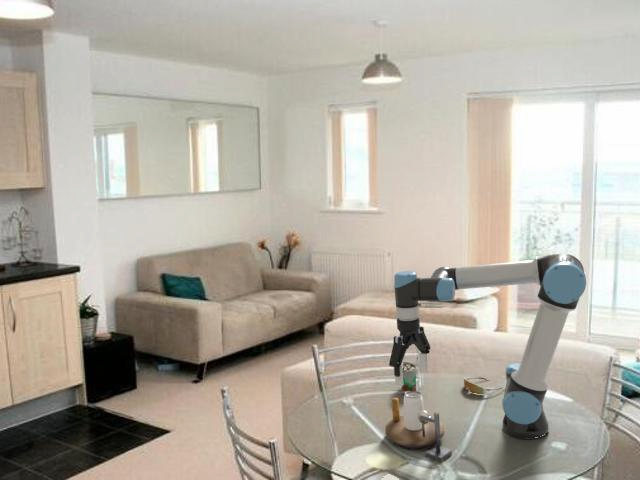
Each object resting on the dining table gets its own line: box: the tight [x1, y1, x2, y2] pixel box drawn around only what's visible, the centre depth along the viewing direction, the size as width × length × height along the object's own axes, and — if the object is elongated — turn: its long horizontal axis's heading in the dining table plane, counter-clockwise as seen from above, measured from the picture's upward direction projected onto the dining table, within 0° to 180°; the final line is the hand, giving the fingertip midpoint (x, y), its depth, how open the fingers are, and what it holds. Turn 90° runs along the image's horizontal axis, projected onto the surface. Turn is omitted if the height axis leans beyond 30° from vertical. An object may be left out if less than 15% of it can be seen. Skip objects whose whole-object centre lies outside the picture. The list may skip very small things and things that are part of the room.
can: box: [403, 390, 424, 431], centre depth 222 cm, size 6×6×12 cm
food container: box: [401, 361, 418, 396], centre depth 262 cm, size 12×6×10 cm, turn 168°
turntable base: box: [391, 441, 436, 451], centre depth 223 cm, size 16×16×2 cm
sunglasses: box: [463, 376, 503, 395], centre depth 259 cm, size 14×15×5 cm
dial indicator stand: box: [418, 409, 453, 463], centre depth 211 cm, size 10×6×14 cm, turn 46°
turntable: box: [384, 397, 445, 446], centre depth 222 cm, size 20×20×10 cm
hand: (411, 378), depth 219 cm, fingers open, 13 cm apart
